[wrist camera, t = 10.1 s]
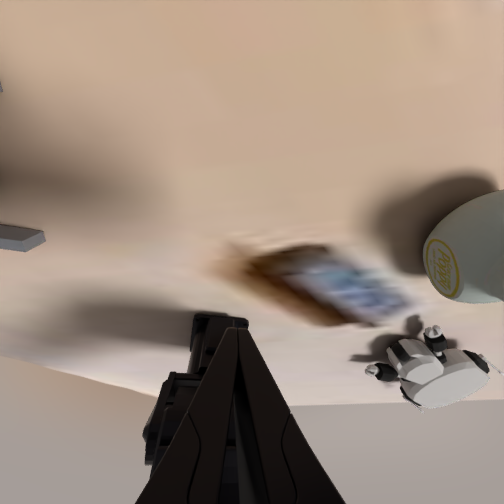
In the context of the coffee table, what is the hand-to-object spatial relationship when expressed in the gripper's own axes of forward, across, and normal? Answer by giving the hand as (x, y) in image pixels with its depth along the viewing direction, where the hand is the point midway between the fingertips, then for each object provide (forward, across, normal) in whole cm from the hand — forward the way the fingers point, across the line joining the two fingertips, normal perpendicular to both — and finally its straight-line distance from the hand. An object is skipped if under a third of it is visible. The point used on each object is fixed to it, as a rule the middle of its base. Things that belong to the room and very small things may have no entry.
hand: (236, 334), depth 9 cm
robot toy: (+12, -29, +17) cm, 36 cm away
